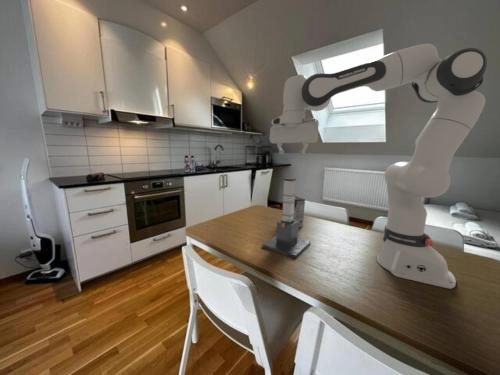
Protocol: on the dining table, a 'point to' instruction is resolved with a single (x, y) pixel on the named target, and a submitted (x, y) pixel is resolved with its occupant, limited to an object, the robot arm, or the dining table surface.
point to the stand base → (287, 240)
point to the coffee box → (299, 210)
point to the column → (288, 200)
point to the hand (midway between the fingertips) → (291, 154)
